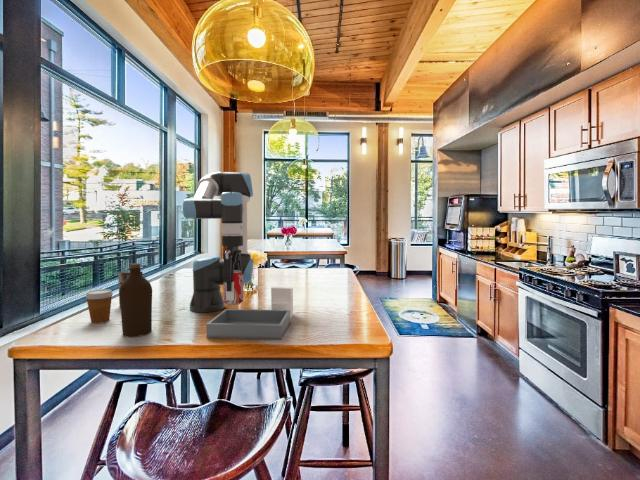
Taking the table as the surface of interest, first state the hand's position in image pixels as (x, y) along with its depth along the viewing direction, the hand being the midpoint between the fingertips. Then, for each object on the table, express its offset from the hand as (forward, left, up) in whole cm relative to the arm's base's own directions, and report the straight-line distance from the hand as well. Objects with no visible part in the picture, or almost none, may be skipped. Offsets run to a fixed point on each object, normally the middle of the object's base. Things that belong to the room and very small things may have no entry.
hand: (233, 297), depth 137 cm
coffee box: (-59, +32, -12) cm, 68 cm away
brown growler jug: (-34, -6, -12) cm, 36 cm away
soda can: (0, 0, -2) cm, 2 cm away
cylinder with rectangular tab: (+14, +20, -12) cm, 28 cm away
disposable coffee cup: (-57, +7, -12) cm, 58 cm away
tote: (+6, 0, -12) cm, 14 cm away
